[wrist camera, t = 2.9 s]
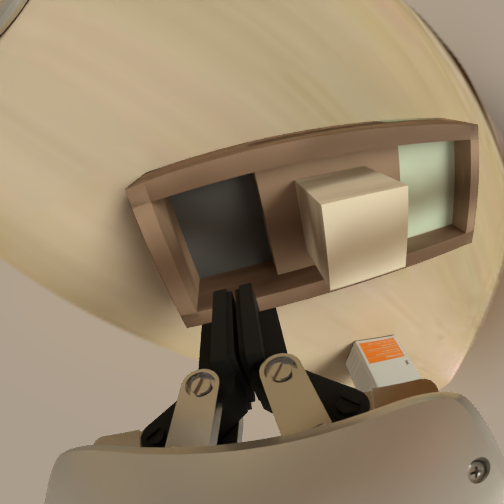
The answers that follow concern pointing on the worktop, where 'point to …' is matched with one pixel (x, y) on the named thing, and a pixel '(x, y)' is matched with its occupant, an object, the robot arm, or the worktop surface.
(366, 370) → the skincare box
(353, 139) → the channel
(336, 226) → the birch block
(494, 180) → the worktop surface
